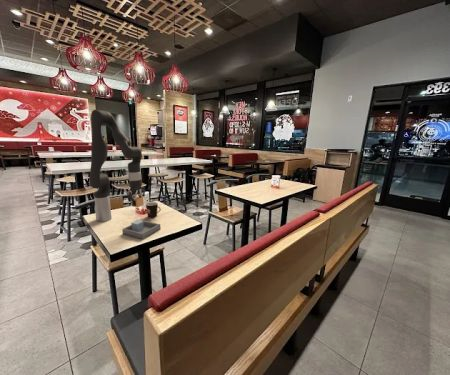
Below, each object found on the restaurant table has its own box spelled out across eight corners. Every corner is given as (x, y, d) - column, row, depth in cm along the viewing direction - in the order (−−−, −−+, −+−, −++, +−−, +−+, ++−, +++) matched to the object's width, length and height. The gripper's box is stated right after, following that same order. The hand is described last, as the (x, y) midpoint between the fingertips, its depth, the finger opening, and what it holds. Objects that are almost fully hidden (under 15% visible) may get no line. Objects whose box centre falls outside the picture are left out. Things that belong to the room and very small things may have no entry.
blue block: (131, 230, 136) (131, 222, 135) (137, 227, 140) (137, 220, 139) (138, 231, 134) (137, 224, 133) (143, 228, 138) (143, 221, 137)
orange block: (131, 206, 137) (131, 198, 136) (137, 204, 141) (136, 196, 140) (137, 207, 135) (137, 199, 134) (143, 205, 139) (142, 197, 138)
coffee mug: (144, 215, 162) (143, 203, 160) (155, 213, 168) (155, 201, 165) (150, 220, 154) (149, 207, 151) (162, 217, 159) (161, 205, 157)
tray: (122, 234, 132) (122, 229, 131) (141, 224, 146) (141, 220, 145) (142, 239, 126) (142, 234, 125) (160, 229, 140) (160, 224, 139)
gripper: (138, 176, 142) (141, 201, 146) (121, 180, 129) (124, 207, 133) (147, 177, 139) (149, 202, 143) (130, 181, 126) (133, 208, 130)
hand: (137, 204), depth 138 cm, fingers closed on orange block, 5 cm apart
